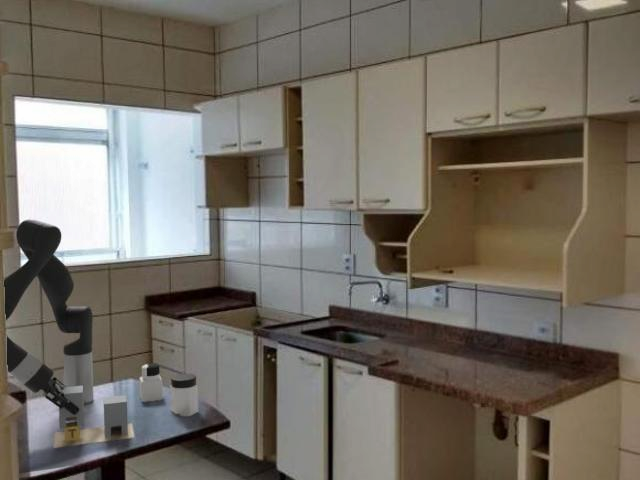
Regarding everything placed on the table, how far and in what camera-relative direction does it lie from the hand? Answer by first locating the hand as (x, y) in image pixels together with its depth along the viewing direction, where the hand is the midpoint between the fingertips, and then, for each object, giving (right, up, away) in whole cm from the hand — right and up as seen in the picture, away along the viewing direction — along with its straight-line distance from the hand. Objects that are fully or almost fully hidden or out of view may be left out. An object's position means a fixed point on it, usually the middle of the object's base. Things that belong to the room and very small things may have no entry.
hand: (77, 408), depth 185 cm
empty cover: (+10, -8, +4) cm, 14 cm away
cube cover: (-2, -4, 0) cm, 5 cm away
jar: (+26, -8, +24) cm, 36 cm away
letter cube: (-1, -9, 0) cm, 9 cm away
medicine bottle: (+11, -7, +38) cm, 41 cm away
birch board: (+4, -9, +2) cm, 11 cm away
